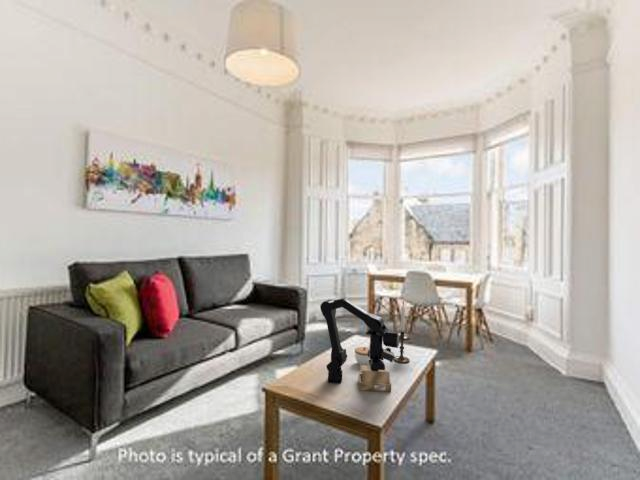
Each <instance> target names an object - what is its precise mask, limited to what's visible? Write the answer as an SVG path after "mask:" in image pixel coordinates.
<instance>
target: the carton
mask: <svg viewBox="0 0 640 480" xmlns="http://www.w3.org/2000/svg"><path fill="white" fill-rule="evenodd" d="M357 377H358V389H359V391H361V392H363V391H365V392H379V393H380V392H383V393H391V392H392V382H391V379H390V377H389V383H376V382H362V373H361V372H359V373H358V376H357Z"/></svg>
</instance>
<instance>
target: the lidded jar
mask: <svg viewBox="0 0 640 480" xmlns="http://www.w3.org/2000/svg"><path fill="white" fill-rule="evenodd" d="M368 350H370V347H369V346H367V347H366V346H359V347H355V349H354V357H355V360H356V362H357V364H358V365H359V366H360V365H370V364H369V360H370V357H368V355H367V352H368Z"/></svg>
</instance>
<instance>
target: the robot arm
mask: <svg viewBox="0 0 640 480" xmlns="http://www.w3.org/2000/svg"><path fill="white" fill-rule="evenodd" d="M341 308H343V309H344V310H346V311H347V312H349V313H351V314H352V315H354V316H355V317H357V318H358V319H360V320H361V321H362V322H363V323H364V324H365V325H366V327H368V328H369V329H368V331H366V332H365V335H369V345H368V348H370V350H368V352H367V355H368V357H370V360H369V365H370V368H371V370H372V371H378V370H386V364H385V362H384V360H387V361H389V362H390V363H392V362H393V361H394V360H393V359H394V357H396V355H395V353H394V352H393V351H392V350H391V349H392V348H393V349H394V348H395V349H398V348H399V347H400V340H399V335H398V333H399V331H398V332H397V331H394V332H393V331H389V329H388V327H387V326H386V325H385V321H384V318H382V317H381V316H378V315H377V314H374V313H370V312H368V311H366V310H364V309H363V308H362V307H360V306H359V305H357V304H355V303H354V302H352V301H350V300H349V298H346V297H343V298H340V299H334V300H333V299H326V300H324V301H323V302H322V303H321V304H320V312H321V314H322V317H324V319H325V321H326V326H327V330H328V336H329V337H328V338H329V340H330V341H329V342H330V346H331V353H330V362H329V363H328V364H326V370H327V376H328V377H327V383H329V384H330V383H332V384H342V382H343V370H342V367H343V365H344V364H345V363H346V362H347V358H348V354H347V349H346V348H343V347H342V344H341V339H340V334H339V330H338V325H337V319H336V316H337V315H336V313H337V309H341ZM384 346H385V348H383V347H384Z"/></svg>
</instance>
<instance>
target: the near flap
mask: <svg viewBox="0 0 640 480" xmlns="http://www.w3.org/2000/svg"><path fill="white" fill-rule="evenodd" d="M361 374H362V382H376V383H389V378H390V371H386V372H384V371H364V370H362V373H361Z"/></svg>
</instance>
